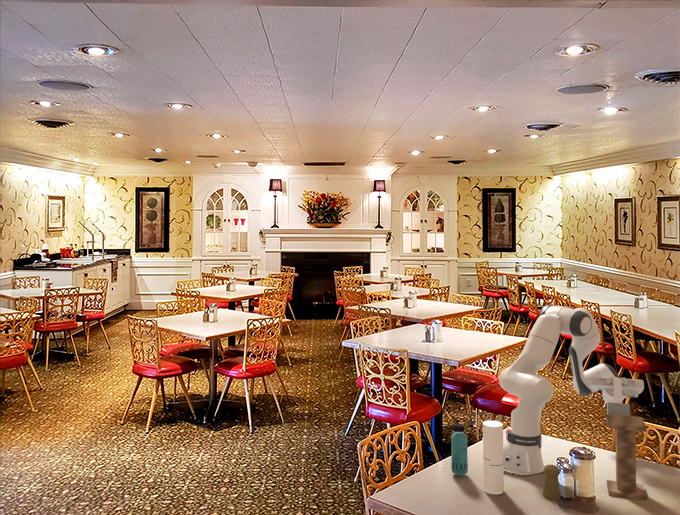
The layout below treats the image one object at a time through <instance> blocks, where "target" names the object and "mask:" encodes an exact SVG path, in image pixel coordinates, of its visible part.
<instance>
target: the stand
mask: <svg viewBox="0 0 680 515" xmlns="http://www.w3.org/2000/svg"><path fill="white" fill-rule="evenodd" d="M605 420H606V423H607V428H608V430H609V429H610V430H611V429H612V430H615V480H610V479H606V489H607V493H608V496H609V497H611V496H612V497H620V498H626V499H636V500H641V501H642V500H643V501H647V500H648V499H647V498H648V495H647V492H646V490H645V487H644V484H643V483H637V432H643V433H644V432H645V433H647V430H648V428H647V426H646V424H645V420H644V419H643V417H642V416H631V415H630V416H621V415H609V414H607V413H606V414H605Z"/></svg>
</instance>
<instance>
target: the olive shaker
mask: <svg viewBox="0 0 680 515" xmlns="http://www.w3.org/2000/svg"><path fill="white" fill-rule="evenodd" d="M543 472H544V474H545V477H544V485H543V492H542V496H543V498H545V499H547V500H550V501H560V500H561V499H560V497H561V498H562V495H561V490H560V482H559V476H560V468H559V467H558V466H557V465H555V464H547V465H544V471H543Z"/></svg>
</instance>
